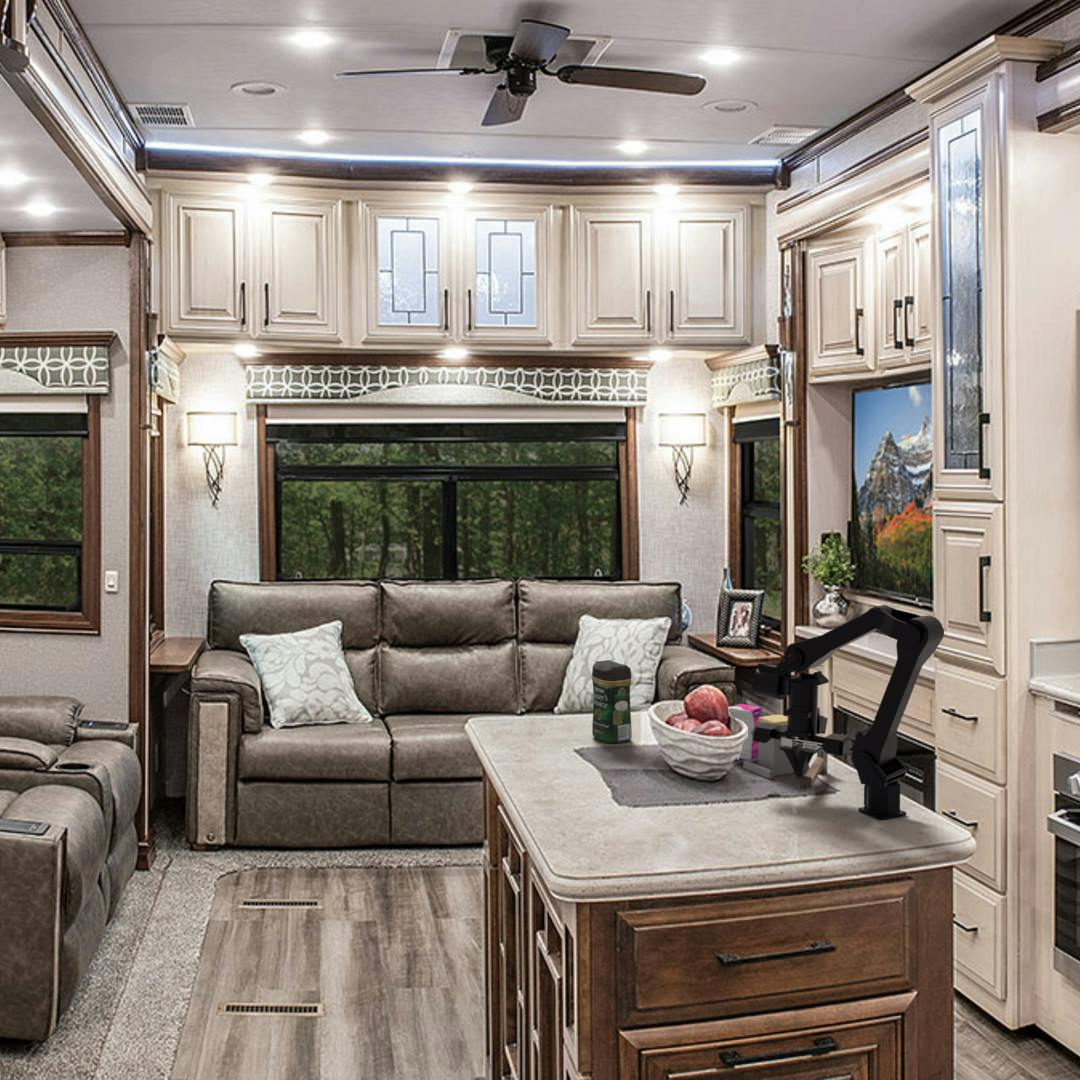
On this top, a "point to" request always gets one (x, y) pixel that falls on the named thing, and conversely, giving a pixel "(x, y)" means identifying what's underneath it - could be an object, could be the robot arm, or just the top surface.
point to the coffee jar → (611, 702)
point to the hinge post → (825, 767)
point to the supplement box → (751, 720)
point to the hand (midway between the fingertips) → (800, 781)
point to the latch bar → (811, 775)
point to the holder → (760, 768)
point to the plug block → (774, 748)
